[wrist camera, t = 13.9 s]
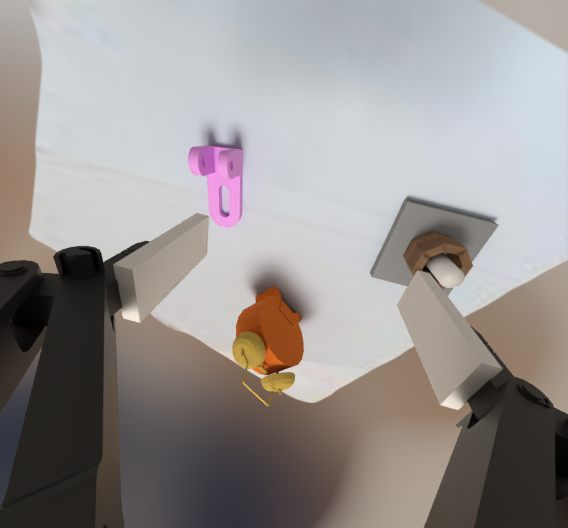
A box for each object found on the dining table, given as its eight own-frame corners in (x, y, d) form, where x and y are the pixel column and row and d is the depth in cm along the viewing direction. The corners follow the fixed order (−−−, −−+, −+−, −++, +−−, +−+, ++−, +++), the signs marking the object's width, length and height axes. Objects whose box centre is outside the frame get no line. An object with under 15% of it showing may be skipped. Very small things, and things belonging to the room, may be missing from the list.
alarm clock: (248, 292, 51) (209, 373, 33) (271, 279, 48) (241, 360, 31) (285, 332, 55) (266, 423, 37) (307, 322, 52) (298, 415, 35)
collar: (418, 227, 37) (430, 239, 33) (463, 239, 37) (482, 252, 33) (397, 266, 41) (405, 281, 37) (438, 277, 41) (452, 293, 36)
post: (404, 199, 37) (428, 218, 29) (492, 221, 37) (541, 246, 28) (370, 272, 44) (380, 304, 36) (443, 291, 44) (471, 328, 35)
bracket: (209, 145, 38) (187, 147, 32) (242, 149, 37) (226, 152, 31) (213, 222, 44) (195, 236, 38) (242, 226, 44) (228, 241, 38)
